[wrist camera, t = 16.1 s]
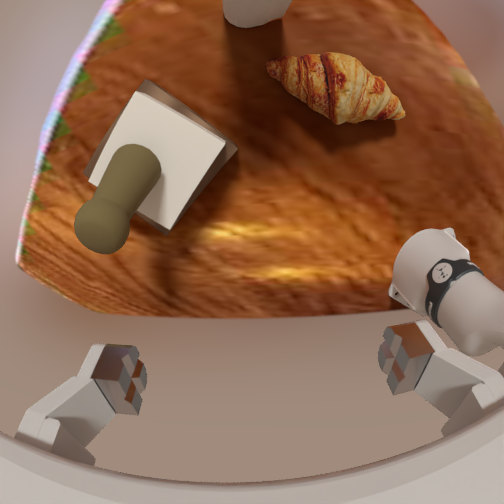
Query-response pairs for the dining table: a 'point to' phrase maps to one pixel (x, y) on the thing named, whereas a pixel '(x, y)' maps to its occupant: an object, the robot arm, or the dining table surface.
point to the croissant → (336, 87)
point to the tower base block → (174, 103)
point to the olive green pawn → (117, 199)
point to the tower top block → (163, 153)
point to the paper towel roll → (253, 11)
